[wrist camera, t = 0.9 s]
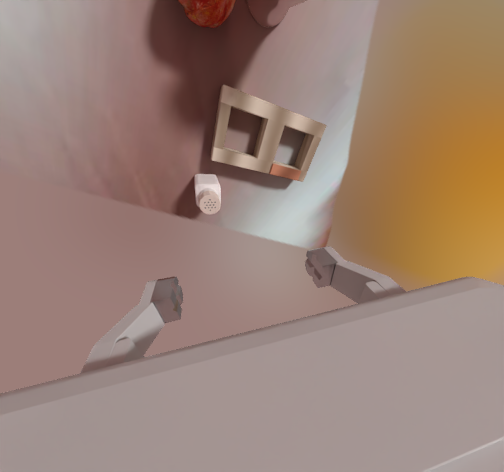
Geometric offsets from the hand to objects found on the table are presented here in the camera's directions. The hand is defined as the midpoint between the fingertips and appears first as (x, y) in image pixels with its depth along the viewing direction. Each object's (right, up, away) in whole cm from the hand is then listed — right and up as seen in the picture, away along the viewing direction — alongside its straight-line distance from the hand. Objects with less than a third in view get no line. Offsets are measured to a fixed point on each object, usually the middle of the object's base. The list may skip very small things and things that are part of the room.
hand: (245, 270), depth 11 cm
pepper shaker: (-8, +12, +23) cm, 28 cm away
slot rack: (+3, +19, +22) cm, 29 cm away
